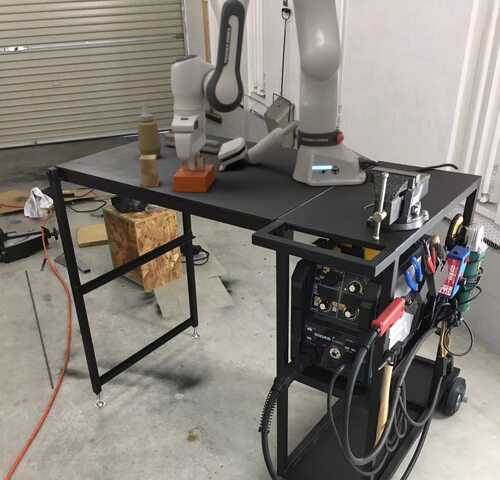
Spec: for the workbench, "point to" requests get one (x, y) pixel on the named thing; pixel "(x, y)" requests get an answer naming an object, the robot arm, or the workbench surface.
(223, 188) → the workbench surface
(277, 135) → the bottle
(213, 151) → the metal rod assembly
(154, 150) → the squeeze bottle
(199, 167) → the tan rectangular block
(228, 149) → the white rounded block
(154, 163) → the workpiece
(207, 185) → the orange box
